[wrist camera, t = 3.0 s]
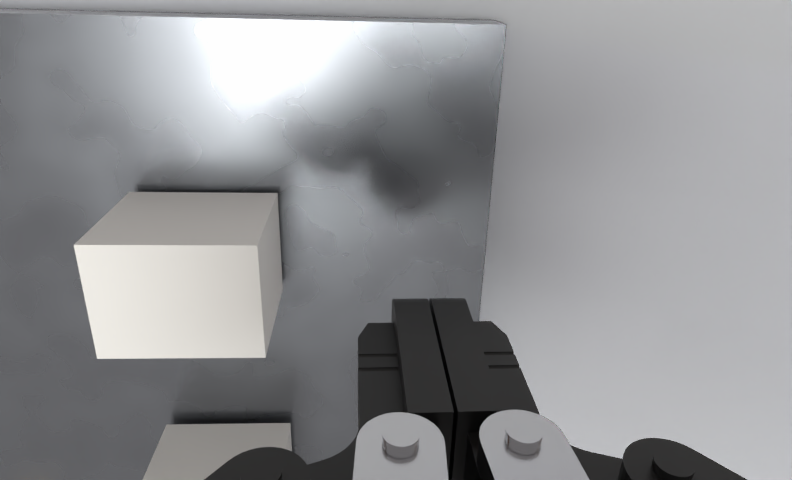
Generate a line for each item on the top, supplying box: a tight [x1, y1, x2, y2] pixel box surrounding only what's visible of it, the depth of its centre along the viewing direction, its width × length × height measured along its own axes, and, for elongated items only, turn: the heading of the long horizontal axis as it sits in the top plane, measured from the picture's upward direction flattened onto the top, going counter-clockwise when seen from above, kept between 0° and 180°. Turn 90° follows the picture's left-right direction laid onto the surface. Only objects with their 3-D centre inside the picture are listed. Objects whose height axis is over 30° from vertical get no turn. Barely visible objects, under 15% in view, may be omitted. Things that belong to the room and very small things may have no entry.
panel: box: [0, 9, 506, 480], centre depth 19 cm, size 18×20×3 cm
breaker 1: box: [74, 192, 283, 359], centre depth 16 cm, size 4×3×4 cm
